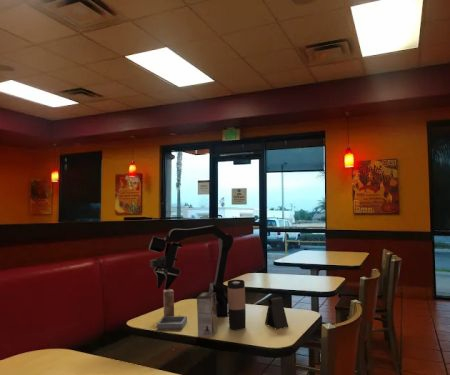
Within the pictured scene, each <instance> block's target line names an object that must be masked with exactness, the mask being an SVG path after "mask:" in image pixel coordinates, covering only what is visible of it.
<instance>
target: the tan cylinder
mask: <svg viewBox="0 0 450 375" xmlns="http://www.w3.org/2000/svg"><path fill="white" fill-rule="evenodd" d="M162 292H163V293H162V294H163V316H175V298H174V296H175V295H174V293H175V291H174V290H173V289H172V288H171V289H170V288H169V289H167V290H165V289H163V290H162Z"/></svg>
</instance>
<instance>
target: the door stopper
mask: <svg viewBox="0 0 450 375" xmlns="http://www.w3.org/2000/svg"><path fill="white" fill-rule="evenodd" d="M267 304H268V305H267V311H266V316H265V321H264V324H265V326H268V325H269V327H270V326H271V328H273V329H275V328H276V329H275V330H280V328H281V329H285V328H288V327H289V323H288V320H287V316H286V311H285V307H284V299H283V297H282V296H278V297H273V298H272V297H271V298H268V300H267ZM284 327H285V328H284Z"/></svg>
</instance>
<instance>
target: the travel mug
mask: <svg viewBox="0 0 450 375" xmlns="http://www.w3.org/2000/svg"><path fill="white" fill-rule="evenodd" d="M245 284H246V283H245V280H243V279H229V280H228V281H227V298H228V325H229V326H228V327H229V329H230V330H233V331H241V330H244V329H246V324H247V322H246V318H247V317H246V313H247V312H246V306H247V305H246V287H245V286H246V285H245Z"/></svg>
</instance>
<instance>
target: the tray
mask: <svg viewBox="0 0 450 375" xmlns="http://www.w3.org/2000/svg"><path fill="white" fill-rule="evenodd" d="M187 322H188V316H186V315H185V316H183V315H182V316H181V315H178V316H177V315H174V316H164V315H163V316H162V318H160V320H159V321H158V322H157V324H156V330H160V331H161V330H162V331H163V330H164V331H165V330H170V331H171V330H173V331H176V330H178V331H179V330H180V331H182V330H183V329H184V328H185V326H186V324H187Z"/></svg>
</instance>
